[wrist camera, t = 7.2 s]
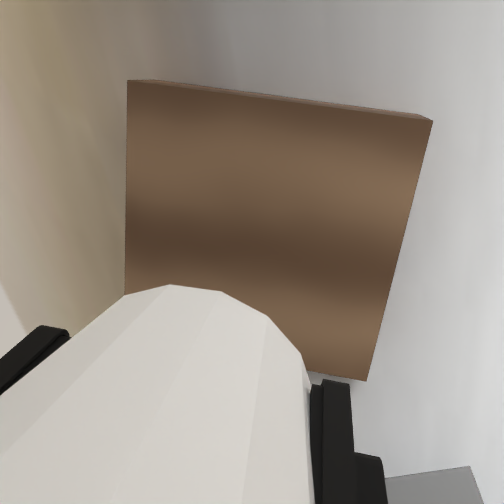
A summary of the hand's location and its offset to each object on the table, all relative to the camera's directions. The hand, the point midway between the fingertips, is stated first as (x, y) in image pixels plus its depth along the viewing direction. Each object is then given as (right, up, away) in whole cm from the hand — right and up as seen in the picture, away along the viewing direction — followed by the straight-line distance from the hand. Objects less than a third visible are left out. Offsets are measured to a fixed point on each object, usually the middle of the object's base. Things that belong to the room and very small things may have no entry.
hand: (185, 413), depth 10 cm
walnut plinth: (+2, +5, +13) cm, 14 cm away
